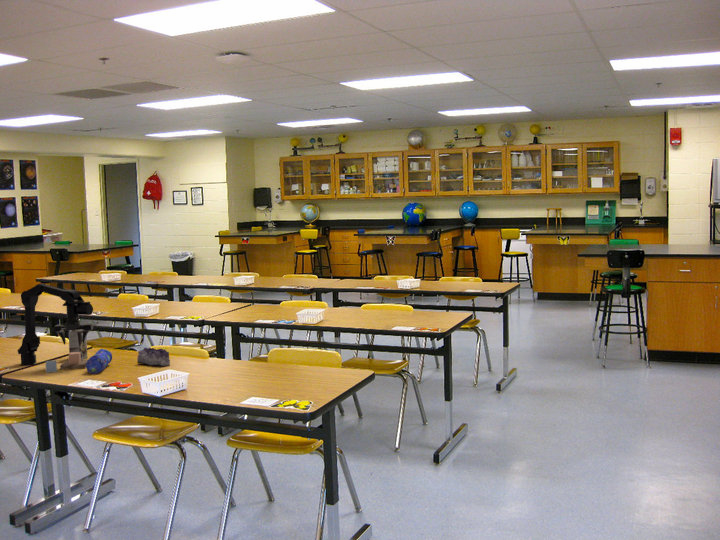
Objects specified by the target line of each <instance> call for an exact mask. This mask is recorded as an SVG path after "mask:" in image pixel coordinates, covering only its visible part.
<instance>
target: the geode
mask: <svg viewBox="0 0 720 540" xmlns="http://www.w3.org/2000/svg"><path fill="white" fill-rule="evenodd" d="M137 354H138V355H137V364H144V365H147V366H149V367H153V366H159V367H162V368H164V367H170V365H171V359H170V352H169V351H167V350H166V349H163V348H157V349H156V348H154V347H143V349H140V350H139V351H138V352H137Z"/></svg>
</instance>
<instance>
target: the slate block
mask: <svg viewBox="0 0 720 540" xmlns="http://www.w3.org/2000/svg"><path fill="white" fill-rule="evenodd" d="M57 372H58V368H57V359H56V360H55V359H54V360H53V359H52V360H46V361H45V373H47V374H48V373H57Z"/></svg>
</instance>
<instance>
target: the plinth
mask: <svg viewBox="0 0 720 540" xmlns="http://www.w3.org/2000/svg"><path fill="white" fill-rule="evenodd" d="M87 361H88V359H83V360H81V362H80V363H77V364H69V360H65V361H63V363H61V365H60V366H59V367H60V368H59V369H60V370H76V369H78V370H79V369H87V368H86V363H87Z"/></svg>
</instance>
